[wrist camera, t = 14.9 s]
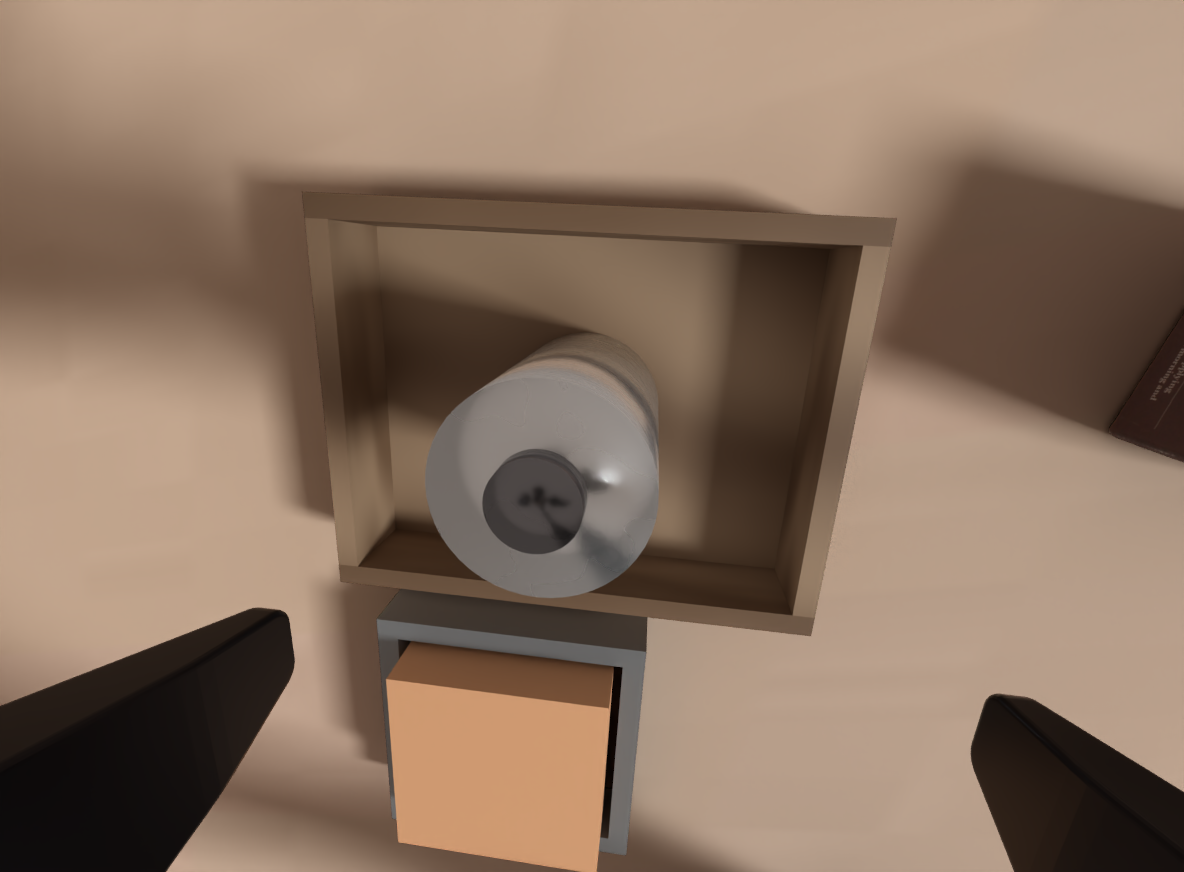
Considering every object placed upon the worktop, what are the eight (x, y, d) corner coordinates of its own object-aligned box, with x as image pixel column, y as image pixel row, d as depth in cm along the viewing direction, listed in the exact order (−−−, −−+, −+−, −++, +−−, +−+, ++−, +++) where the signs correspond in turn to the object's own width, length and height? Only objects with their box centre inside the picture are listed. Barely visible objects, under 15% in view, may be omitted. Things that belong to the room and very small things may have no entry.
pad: (601, 817, 20) (596, 874, 18) (421, 790, 21) (398, 842, 19) (614, 662, 18) (608, 708, 16) (413, 637, 19) (385, 679, 17)
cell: (651, 477, 17) (647, 629, 10) (515, 465, 18) (416, 602, 10) (665, 337, 16) (670, 396, 9) (517, 327, 16) (405, 374, 9)
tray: (786, 578, 18) (810, 636, 15) (386, 536, 20) (340, 581, 17) (851, 227, 15) (897, 218, 12) (364, 204, 16) (302, 191, 13)
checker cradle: (628, 804, 22) (625, 855, 20) (414, 772, 23) (392, 819, 21) (647, 614, 19) (646, 651, 17) (403, 585, 20) (376, 619, 18)
